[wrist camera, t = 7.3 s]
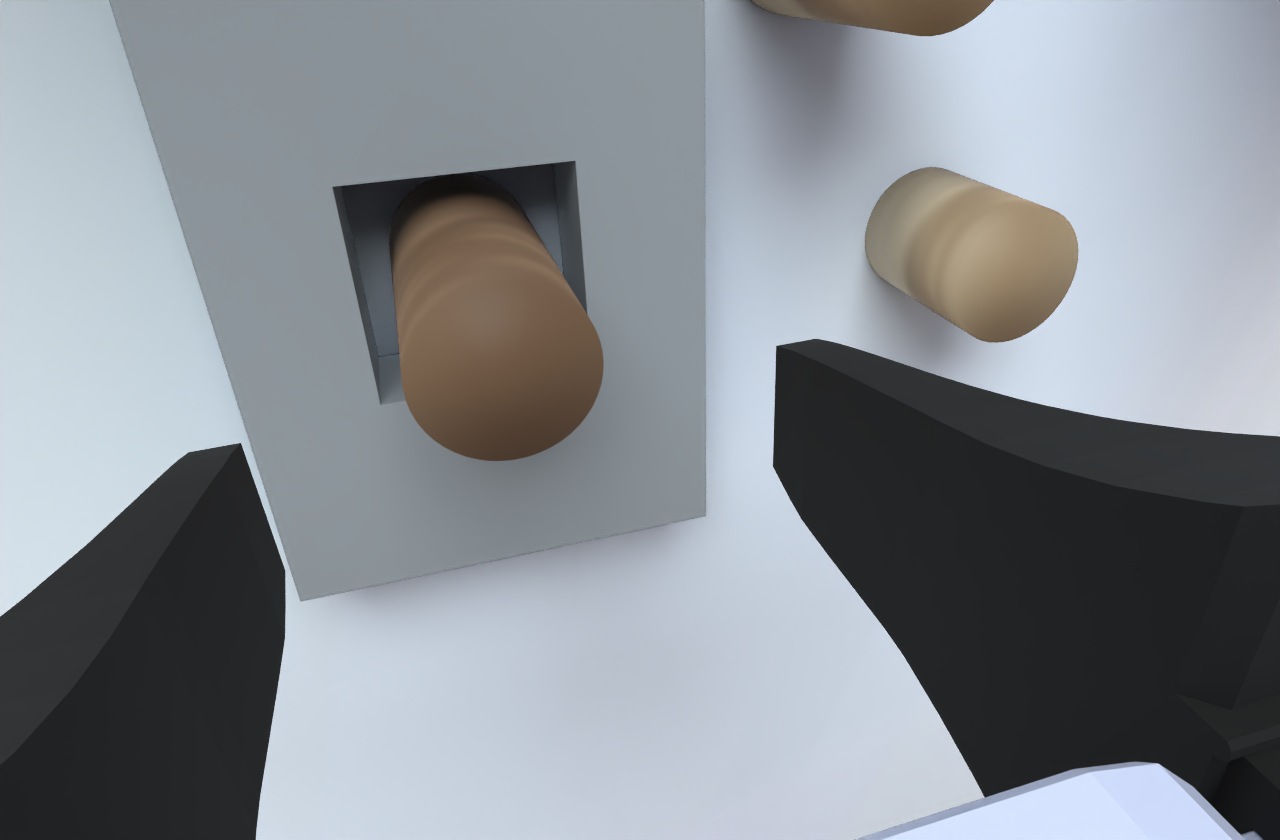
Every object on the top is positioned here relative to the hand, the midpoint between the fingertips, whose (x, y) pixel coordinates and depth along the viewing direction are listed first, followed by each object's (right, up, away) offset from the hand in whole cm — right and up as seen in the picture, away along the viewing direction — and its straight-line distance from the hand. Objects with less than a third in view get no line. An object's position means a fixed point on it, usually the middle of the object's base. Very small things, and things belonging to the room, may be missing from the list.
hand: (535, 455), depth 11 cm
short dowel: (+9, +6, +11) cm, 15 cm away
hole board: (-3, +4, +8) cm, 9 cm away
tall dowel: (-3, +4, +8) cm, 9 cm away
